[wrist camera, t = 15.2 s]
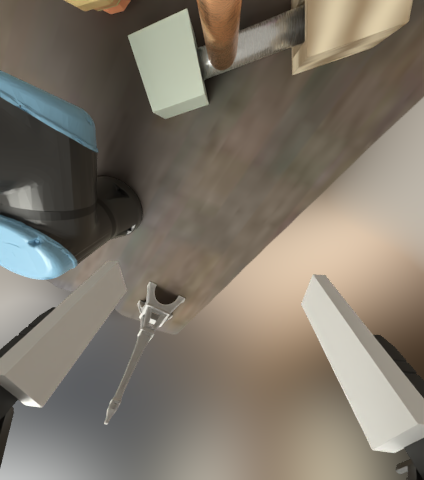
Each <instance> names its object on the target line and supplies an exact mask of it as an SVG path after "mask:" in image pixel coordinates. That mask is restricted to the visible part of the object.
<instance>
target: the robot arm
mask: <svg viewBox="0 0 424 480" xmlns="http://www.w3.org/2000/svg"><path fill="white" fill-rule="evenodd" d="M97 153H98V149H97V146H96V132H95V124H94V122H93V120H92V118H91V117H90V115H89V114H88V113H87V112H86V111H84V110H83V109H81V108H80V107H78V106H76V105H73V104H71V103H69V102H67V101H65V100H63V99H61V98H58V97H56V96H54V95H52V94H50V93H48V92H46V91H44V90H41V89H39V88H37V87H35V86H33V85H31V84H29V83H26V82H24V81H22V80H20V79H18V78H16V77H14V76H11V75H9V74H7V73H5V72H3V71H1V70H0V265H1V266H3V267H4V268H6V269H8V270H10V271H12V272H14V273H17V274H19V275H22V276H25V277H28V278H33V279H40V280H47V279H53V278H56V277H58V276H60V275H62V274H63V273H65V272H67V271H68V270H70V269H72V268H75V267H76V266H77V264H79V263H80V262H81V261H82V260H84V259H85V258H86V257H88V256H89V255H90V254H92V253H93V252H94V251H95V250H97V249H98V248H99V247H101V246H102V245H103V244H105V243H106V242H107V241H109V240H110V239H114V238H118V237H122V236H126V235H128V234H130V233H131V232H133V231H134V230H135V229H136V228H137V227H138V226H139V224H140V222H141V219H142V208H141V204H140V201H139V199H138V197H137V196H136V194H135V193H134V192H133V190H132V189H131V188H130V187H129V186H127V185H126V184H125V183H123V182H122V181H120V180H118V179H116V178H113V177H108V176H100V177H97ZM126 291H127V289H126V285H125V282H124V279H123V276H122V272H121V269H120V266H119V263H118V262H117V261H107V262H106V263H105V264H104V265H103V266H101V267H100V268H99V269H98V270H97V271H96V272H95V273H94V274H93V275H92V276H90V277H89V278H88V279H87V280H86V281H85V282H84V283H83V284H82V285H81V286H79V287H78V288H77V289H76V290H75V291H74V292H73V293H72V294H71V295H70V296H68V298H66V299H65V300H64V301H63V302H62V303H61V304H60V305H58V306H57V307H56V308H55V307H53V308H51V309H49V310H48V311H46V312H45V313H43V314H41V315H40V316H39V317H37V318H36V319H35V320H34V321H33V322H32V323H31V324H29V326H28V327H26V328H25V329H24V330H22V331H21V332H20V333H19V335H18V336H16V337H14V338H13V339H12V340H11V341H10V342H9V343H7V344H6V345H5V346H4V347H3V348H2V349H1V350H0V467H1V463H2V459H3V455H4V450H5V446H6V442H7V438H8V434H9V430H10V426H11V422H12V418H13V413H14V411H13V410H14V408H13V407H12V406H13V405H14V404H15V402H16V401H17V400H19V401H21V402H22V403H23V404H24V405H27V406H35V407H43V406H44V404H45V403H46V402H47V400H48V399H49V398H50V396H51V395H52V394H53V392H54V391H55V389H56V388H57V387H58V385H59V384H60V382H61V381H62V380H63V378H64V377H65V376H66V374H67V373H68V372H69V370H70V369H71V367H72V366H73V364H74V363H75V362H76V360H77V359H78V357H79V356H80V355H81V354H82V352H83V351H84V349H85V348H86V347H87V345H88V344H89V343H90V341H91V340H92V338H93V337H94V336H95V334H96V333H97V331H98V330H99V329H100V327H101V326H102V325H103V323H104V322H105V320H106V319H107V318H108V316H109V315H110V314H111V312H112V311H113V309H114V308H115V307H116V305H117V304H118V303H119V301H120V300H121V298H122V297H123V296H124V294H125V293H126ZM301 305H302V307H303V309H304V311H305V313H306V315H307V317H308V319H309V321H310V323H311V325H312V327H313V329H314V331H315V333H316V335H317V337H318V340H319V342H320V344H321V346H322V347H323V350H324V352H325V354H326V356H327V358H328V360H329V362H330V364H331V366H332V368H333V370H334V372H335V374H336V377H337V379H338V381H339V383H340V385H341V387H342V389H343V391H344V393H345V395H346V397H347V399H348V401H349V403H350V405H351V407H352V409H353V411H354V413H355V415H356V418H357V420H358V422H359V424H360V425H361V428H362V429H363V432H364V434H365V436H366V438H367V440H368V442H369V444H370V446H371V448H372V450H376V451H384V452H392V453H395V452H397V451H399V450H401V449H403V448H404V449H405V450H406V452H407V454H408V455H409V457H410V459H409V460H406V461H404V462H402V463H399V464H398V465H397V467H396V471H397V472H398V473H399V474H401V473H404V472H407V471H408V477H407V478H406V480H424V381H423V379H422V378H421V377H420V376H419V375H417V374H416V371H415V370H414V369H413V368H412V367H411V365H410V364H409V363H407V362H406V360H405V359H404V357H403V356H402V355H401V354H400V353H399V351H397V349H396V348H395V347H394V346H393V345H391V344H390V343H389V342H388V341H387V340H386V339H384V338H383V337H382V336H380V335H373V334H372V333H371V332H370V331H369V329H368V328H367V327H366V326H365V324H364V323H363V322H362V321H361V319H360V318H359V317H358V316H357V314H356V313H355V312H354V311H353V309H352V308H351V307H350V306H349V304H348V303H347V302H346V301H345V299H344V298H343V297H342V296H341V294H340V293H339V292H338V291H337V289H336V288H335V287H334V286H333V284H332V283H331V282H330V281H329V279H328V278H327V277H326V276H325V275H313V276H312V278H311V281H310V283H309V286H308V288H307V291H306V293H305V296H304V298H303V301H302V303H301Z"/></svg>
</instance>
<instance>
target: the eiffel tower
mask: <svg viewBox="0 0 424 480" xmlns="http://www.w3.org/2000/svg"><path fill="white" fill-rule="evenodd" d="M156 286H157V285H156V284H154V283H152V282H149V284H148V286H147V299H146V303H145V302H143V301H141V300H139V302H138V304H137V305H138V308H139V311H140V317H139V318H140V319H141V326H140V332H139V333H138V335H137V336H138V339H137V343H136V345H135V348H134V351H133V353H132V356H131V358H130V361H129V363H128V366H127V368H126V371H125V373H124V376H123V378H122V380H121V383H120V385H119V388H118V390H117V392H116V394H115V396H114V398H113V399H112V400H111V401H110V405H109V407H108V409H107V416H106V419H105V422H104V424H108V422H109V420H110V419H111V417H112V416H113V414H114V413H115V412H116V411H117V409H118V406H119V405H120V403H121V398H122V395H123V392H124V390H125V388H126V386H127V384H128V382H129V380H130V377H131V375H132V373H133V371H134V369H135V367H136V365H137V363H138V361H139V359H140V357H141V355H142V353H143V351H144V349H145V347H146V345H147V344H148V342H149V341H150V340H151V338H152V337H153V335H154V334H155V330H156V329H157V328H158V327H161V326H162V325H163V323H164V322H166V321H167V320H169V319H171V317H172V316H173V315H172V314H171V312H172V311H173V310H174V309H175V308H177V307H178V306H179V305H180V304H181V303H183V301H184V300H185V299H186V298H184V297H182V296H179V295H178V297H177V298H176V299H175V301H174V302H173V303H171V304H168V305H164V304H161V303H159V302H158V301H157V299H156V297H155V288H156ZM152 312H154V313H156V314H154V313H152ZM157 314H158V315H157ZM149 322H150V323H152V324H154V325H153V327H151V326H149V325H148V324H149Z"/></svg>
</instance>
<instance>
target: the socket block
mask: <svg viewBox="0 0 424 480" xmlns="http://www.w3.org/2000/svg"><path fill="white" fill-rule="evenodd" d="M128 38H129V41H130V44H131V48H132V51H133V54H134V57H135V60H136V63H137V66H138V69H139V72H140V75H141V78H142V81H143V84H144V87H145V90H146V93H147V96H148V99H149V102H150V105H151V108H152V111H153V113H155V114H157V115H159V116H161V117H162V118H164V119H167V118H170V117H173V116H176V115H179V114H182V113H185V112H188V111H191V110H194V109H197V108H200V107H203V106H206V105H209V103H208V98H207V93H206V88H205V83H204V80H202V76H201V71H200V66H199V61H198V56H197V51H196V48H197V43H196V38H195V34H194V31H193V27H192V24H191V20H190V16H189V13H188V9H187V8H186V9H184V10H182V11H180V12H178V13H176V14H173V15H171V16H169V17H167V18H165V19H163V20H160V21H158V22H156V23H154V24H152V25H150V26H148V27H145V28H143V29H141V30H139V31H137V32H135V33H132V34H130V35H128Z"/></svg>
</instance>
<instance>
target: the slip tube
mask: <svg viewBox="0 0 424 480" xmlns="http://www.w3.org/2000/svg"><path fill="white" fill-rule="evenodd" d="M241 4H242V0H197V5H198V10H199V14H200V19H201V24H202V29H203V34H204V39H205V44H206V45H204V46H201V47H199V48H196V51H197V56H198V61H199V66H200V71H201V76H202V80H205V79H208V78H210V77H213V76H216V75H218V74H221V73H224V72H227V71H229V70H232V69H235V68H237V67H240V66H243V65H246V64H248V63H251V62H254V61H256V60H259V59H262V58H264V57H267V56H270V55H273V54H275V53H278V52H281V51H283V50H286V49H289V48H292V47H294V46H297V45H300V44H302V43H304V42H305V4H304V5H301V6H299V7H296V8H294V9H292V10H289V11H287V12H284V13H282V14H279V15H277V16H274V17H272V18H270V19H267V20H265V21H262V22H260V23H257V24H255V25H253V26H250V27H248V28H245V29H243V30H240V31H239V25H240V15H241Z"/></svg>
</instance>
